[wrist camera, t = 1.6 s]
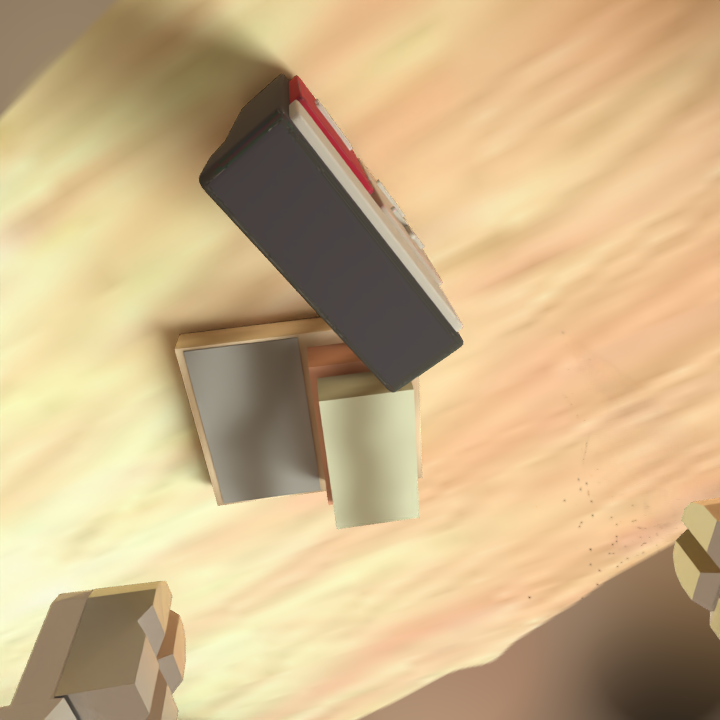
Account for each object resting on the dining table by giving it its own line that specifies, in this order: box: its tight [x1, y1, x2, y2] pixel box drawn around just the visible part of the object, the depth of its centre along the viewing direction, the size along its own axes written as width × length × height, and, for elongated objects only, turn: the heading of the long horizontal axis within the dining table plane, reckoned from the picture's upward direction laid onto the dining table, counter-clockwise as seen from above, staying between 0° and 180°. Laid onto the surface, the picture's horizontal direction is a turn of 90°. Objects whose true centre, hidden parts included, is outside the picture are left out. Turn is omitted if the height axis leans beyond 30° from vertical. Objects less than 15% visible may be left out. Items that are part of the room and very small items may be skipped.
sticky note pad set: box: [175, 317, 423, 529], centre depth 38 cm, size 15×13×7 cm
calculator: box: [199, 74, 463, 393], centre depth 27 cm, size 11×4×15 cm, turn 37°
